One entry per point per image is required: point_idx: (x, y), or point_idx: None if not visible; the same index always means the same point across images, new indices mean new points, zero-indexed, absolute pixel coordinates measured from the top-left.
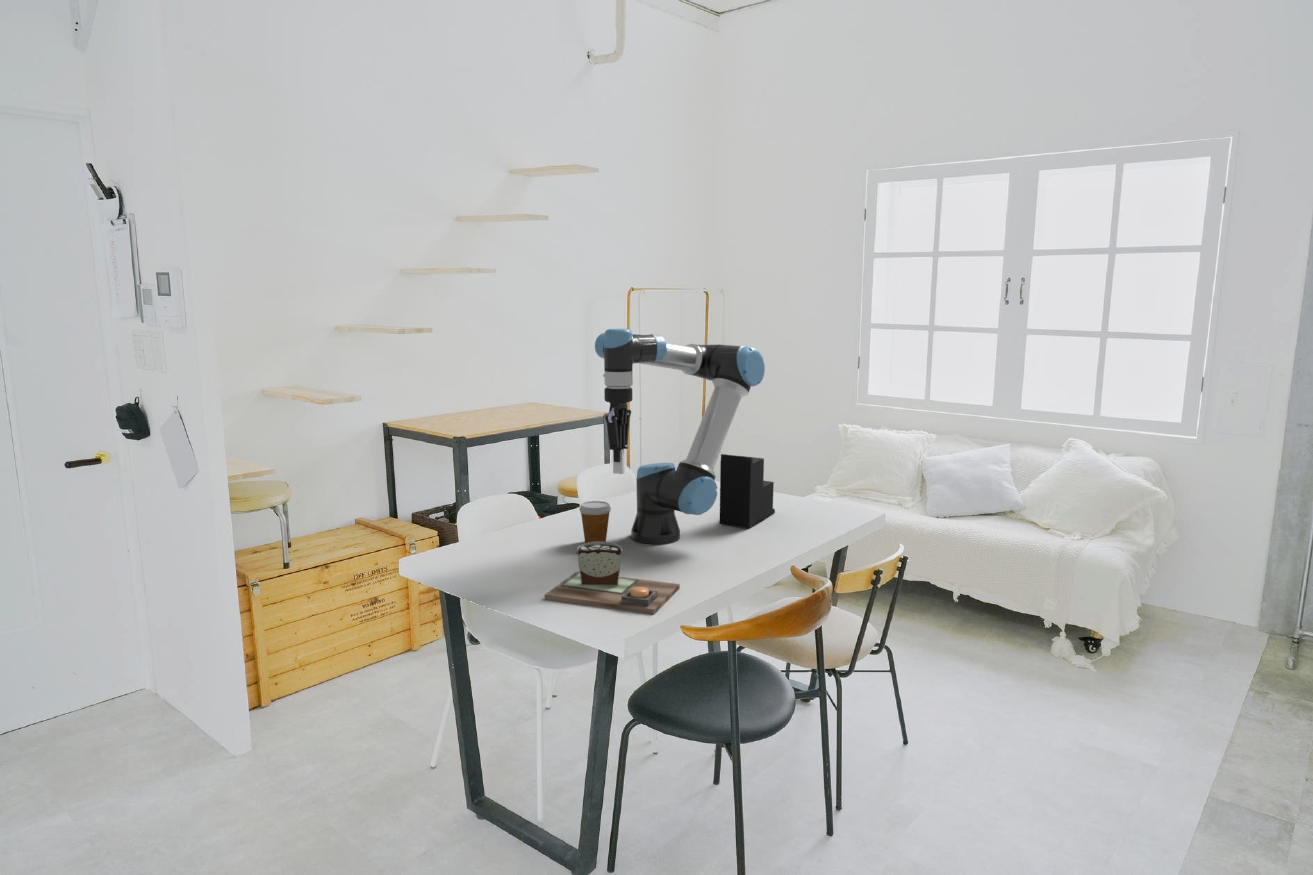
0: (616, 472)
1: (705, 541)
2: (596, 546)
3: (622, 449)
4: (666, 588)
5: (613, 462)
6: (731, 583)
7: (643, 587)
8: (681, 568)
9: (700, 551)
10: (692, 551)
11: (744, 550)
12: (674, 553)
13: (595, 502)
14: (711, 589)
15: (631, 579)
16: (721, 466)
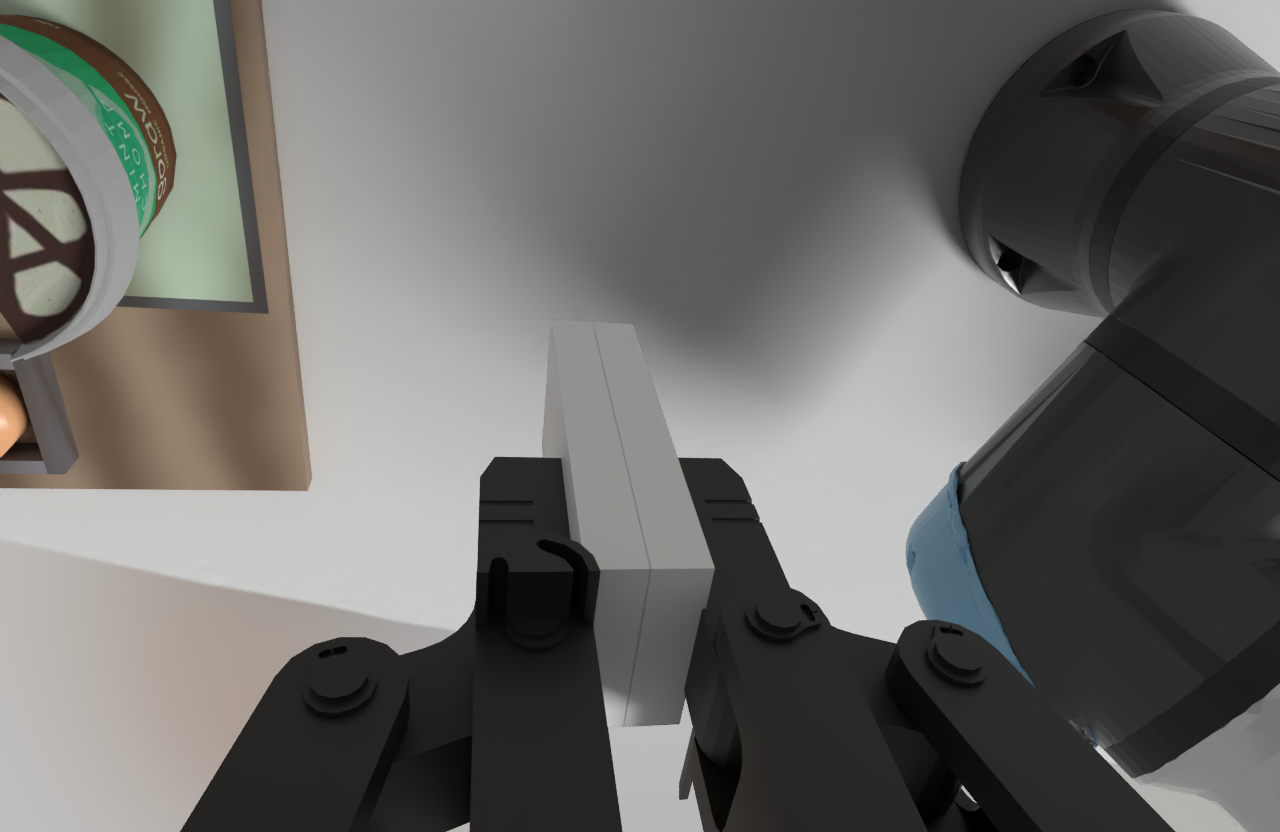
0: (550, 375)
1: (1006, 412)
2: (14, 140)
3: (671, 701)
4: (219, 458)
5: (562, 412)
6: (460, 617)
7: (4, 433)
8: None
9: (852, 429)
10: (849, 398)
11: (880, 569)
12: (809, 331)
13: None
14: (359, 578)
15: (254, 277)
16: None
